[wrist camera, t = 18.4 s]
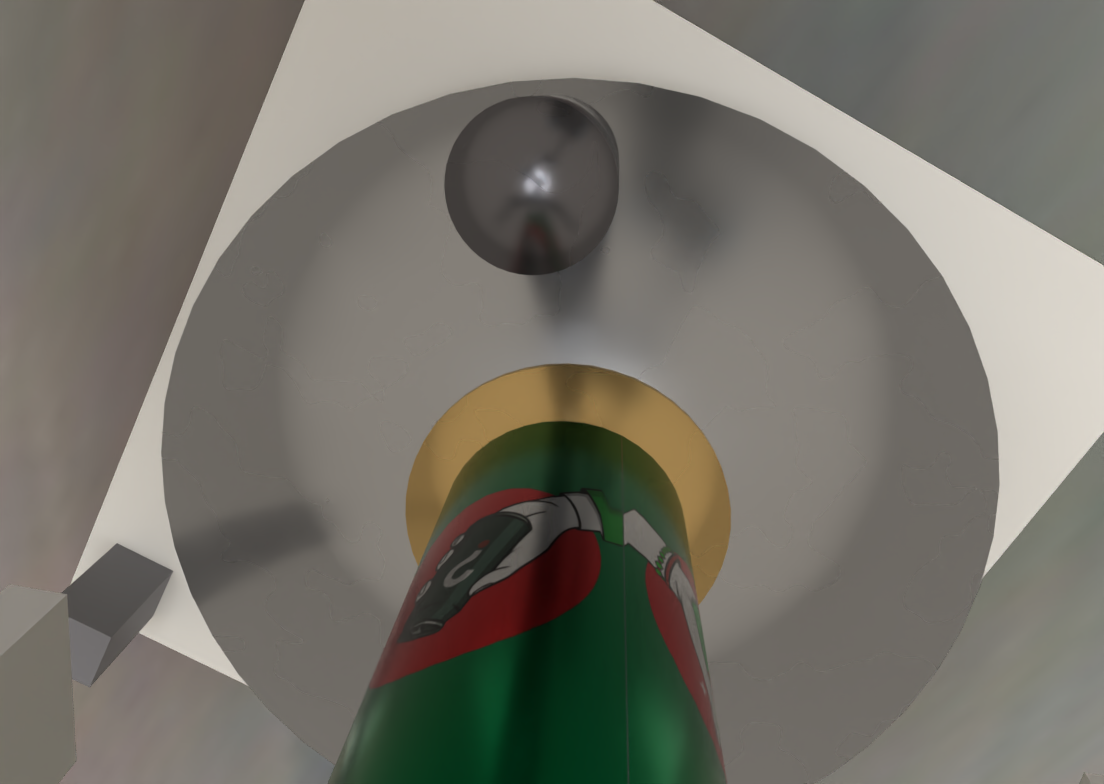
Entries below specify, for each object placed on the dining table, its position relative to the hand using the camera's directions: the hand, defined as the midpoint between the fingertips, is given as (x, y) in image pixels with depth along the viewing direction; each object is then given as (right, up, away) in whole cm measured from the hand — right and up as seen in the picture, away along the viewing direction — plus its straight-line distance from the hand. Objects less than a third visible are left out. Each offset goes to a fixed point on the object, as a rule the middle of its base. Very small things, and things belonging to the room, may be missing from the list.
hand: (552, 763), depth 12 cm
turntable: (0, +3, +10) cm, 10 cm away
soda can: (0, +2, +8) cm, 8 cm away
